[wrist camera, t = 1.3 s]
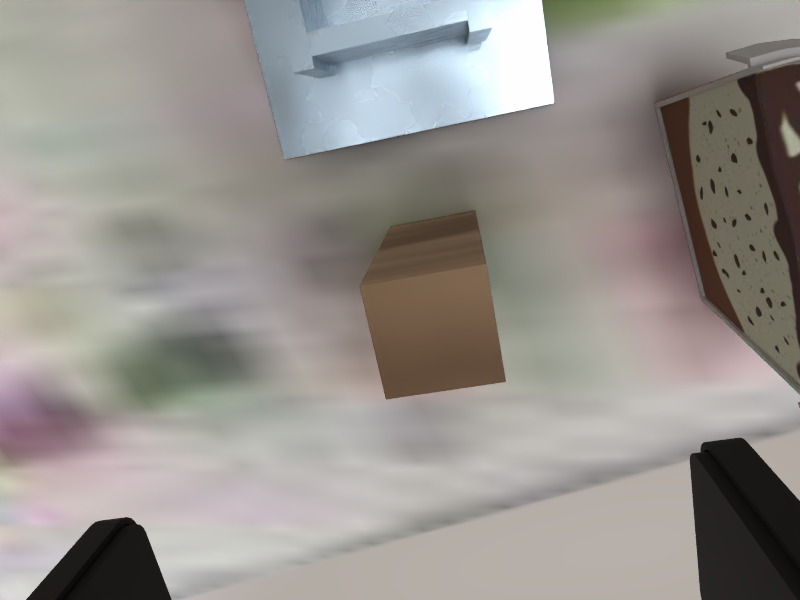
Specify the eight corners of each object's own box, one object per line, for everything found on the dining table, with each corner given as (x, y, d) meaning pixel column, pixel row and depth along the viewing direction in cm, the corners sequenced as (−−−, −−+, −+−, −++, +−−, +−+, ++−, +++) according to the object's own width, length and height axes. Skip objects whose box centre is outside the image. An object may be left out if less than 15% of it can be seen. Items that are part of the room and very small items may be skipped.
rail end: (391, 226, 28) (359, 286, 19) (475, 210, 28) (486, 264, 18) (407, 305, 30) (385, 399, 20) (489, 291, 29) (505, 381, 20)
